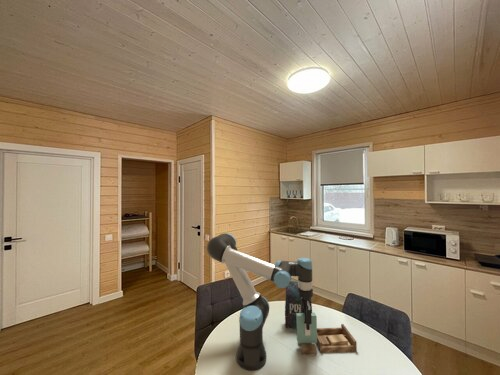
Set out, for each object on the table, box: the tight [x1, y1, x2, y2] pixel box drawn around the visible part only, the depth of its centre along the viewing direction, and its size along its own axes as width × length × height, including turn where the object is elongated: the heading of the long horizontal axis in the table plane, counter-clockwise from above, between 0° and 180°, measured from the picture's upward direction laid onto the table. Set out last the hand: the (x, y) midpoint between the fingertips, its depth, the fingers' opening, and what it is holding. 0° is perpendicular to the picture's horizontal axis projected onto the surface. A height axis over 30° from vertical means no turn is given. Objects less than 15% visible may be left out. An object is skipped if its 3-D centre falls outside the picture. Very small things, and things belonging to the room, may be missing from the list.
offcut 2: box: [327, 334, 348, 346], centre depth 116 cm, size 9×5×2 cm, turn 97°
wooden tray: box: [315, 323, 358, 354], centre depth 118 cm, size 19×15×6 cm
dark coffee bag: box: [284, 280, 313, 330], centre depth 134 cm, size 8×16×28 cm, turn 80°
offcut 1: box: [319, 336, 329, 346], centre depth 115 cm, size 4×6×3 cm, turn 1°
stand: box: [298, 343, 317, 356], centre depth 114 cm, size 7×9×5 cm
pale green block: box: [296, 312, 318, 345], centre depth 114 cm, size 10×3×14 cm, turn 91°
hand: (306, 332), depth 114 cm, fingers closed on pale green block, 3 cm apart
